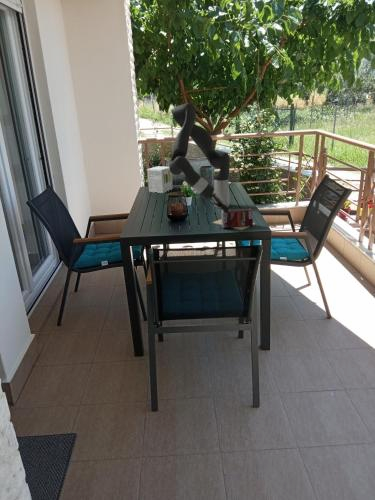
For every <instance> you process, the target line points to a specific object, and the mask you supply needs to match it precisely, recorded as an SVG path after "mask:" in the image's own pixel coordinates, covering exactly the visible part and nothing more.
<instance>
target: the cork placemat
mask: <svg viewBox="0 0 375 500" xmlns="http://www.w3.org/2000/svg"><path fill="white" fill-rule="evenodd" d="M212 224H214V225H215V224H216V225H219V226H222V218H221V219H217V220H215V221H213V222H212ZM255 225H256V223H255V222H253V226H255ZM250 227H251V226H243V227H230V229H231V228H232V229H236V230H240V231H242V230H245V229H248V228H250Z"/></svg>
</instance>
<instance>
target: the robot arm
mask: <svg viewBox="0 0 375 500" xmlns="http://www.w3.org/2000/svg"><path fill="white" fill-rule="evenodd" d="M171 112H172V116H173V119H174V121H175V122H176V124H177V125H178V126H179V127H180V131H179V132H178V133H177V135H176V136H175V139H174V145H173V152H172V154H171V158H170V160H169V164H168V165H169V166H168V167H169V169H170V172H171V173H172V175H174V176H179V175H180V174H182V173H183V174H184V177H183V179H184V182H185V183H186V184H188V186H189V187H191V188H192V189H193V190H194V191H195V192H196V193H197V194H198V195H199V196H200V197H201V198H203V200H207V199H208V198H209V201H210V202H211V203H213V205H214V206H213V207H214V208H216V209H222V210H224V211H225V212H227V211H228V210H230V208H229V207H230V206H231V203H230V202H231V201H230V200H231V198H230V197H231V195H230V194H231V193H230V190H229V189H230V187H229V178H230V177H229V175H230V163H231V161H230V160H231V159H230V155H229V153H227V152H222V151H221V152H219V151H216V150H215V149H214V148H213V143H214V142H213V137H212V136H211V134H210V133H209V132H208V130H206V128H204V127H203V126H200V125H198V124H196V123H195V121H196V117H197V111H196V107H195V106H194V104H193V103H192V102H186V103H183V104H179V105H176V106H175V107H173V108H172V110H171ZM190 138H191V140H192V141H193V142H194V144H195V145H196V146H197V147H198V148H199V150H201V152H202V153H203V154H204V156H205V157H206V159H207V161H208V162H209V164H210V165H211V167H213V168H216V169H219V172H216V173H215V174H214V175H213V178H212V179H213V185H212V184H210V183H209V182H208V181H207V180H206V179H205V178H204V177H202V176H201V175H200V174H199V173H197V172H196V170H195V169H194V167H193V166H192V164H191V162H190V161H189V160H188V159H187V158H186V157H187V155H188V149H189V144H190V143H189V141H190Z"/></svg>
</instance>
